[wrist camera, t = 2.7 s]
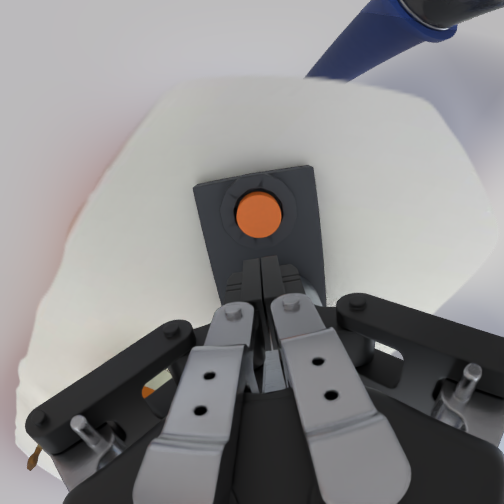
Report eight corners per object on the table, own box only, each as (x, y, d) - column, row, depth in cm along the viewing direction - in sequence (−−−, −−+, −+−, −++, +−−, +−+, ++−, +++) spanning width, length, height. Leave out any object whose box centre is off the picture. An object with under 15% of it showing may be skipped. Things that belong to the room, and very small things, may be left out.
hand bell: (52, 439, 52) (35, 476, 37) (32, 422, 49) (13, 459, 34) (64, 440, 50) (46, 480, 36) (42, 422, 48) (22, 462, 33)
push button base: (196, 181, 27) (187, 188, 23) (308, 162, 26) (317, 165, 22) (231, 326, 33) (229, 348, 29) (323, 312, 32) (330, 333, 28)
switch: (233, 195, 23) (232, 199, 22) (276, 188, 23) (277, 191, 22) (241, 235, 25) (241, 241, 23) (282, 228, 25) (284, 234, 23)
